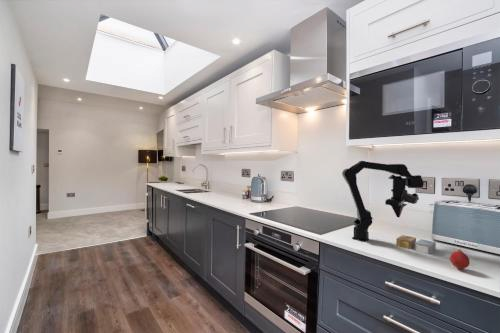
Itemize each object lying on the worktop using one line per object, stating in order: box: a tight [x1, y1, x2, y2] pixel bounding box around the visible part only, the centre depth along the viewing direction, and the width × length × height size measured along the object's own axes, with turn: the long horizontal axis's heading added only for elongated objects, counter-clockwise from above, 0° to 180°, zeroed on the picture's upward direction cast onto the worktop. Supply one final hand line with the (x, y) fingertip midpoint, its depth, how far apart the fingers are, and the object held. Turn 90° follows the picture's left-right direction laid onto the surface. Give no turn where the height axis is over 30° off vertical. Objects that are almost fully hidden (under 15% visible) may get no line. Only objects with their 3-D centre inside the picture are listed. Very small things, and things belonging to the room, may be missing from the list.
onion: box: [449, 249, 471, 271], centre depth 94 cm, size 6×6×8 cm
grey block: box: [414, 239, 437, 255], centre depth 114 cm, size 6×4×9 cm
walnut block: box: [395, 234, 417, 250], centre depth 121 cm, size 6×4×9 cm
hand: (398, 217), depth 126 cm, fingers closed
